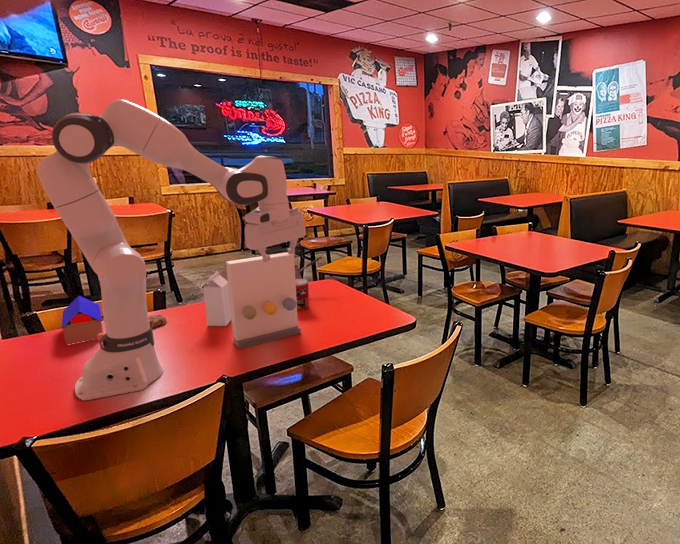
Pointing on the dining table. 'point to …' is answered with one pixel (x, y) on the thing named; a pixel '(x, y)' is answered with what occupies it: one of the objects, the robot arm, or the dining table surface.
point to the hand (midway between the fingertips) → (279, 257)
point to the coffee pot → (297, 275)
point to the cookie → (157, 320)
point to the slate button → (289, 303)
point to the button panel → (262, 298)
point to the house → (81, 321)
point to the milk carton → (217, 301)
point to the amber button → (269, 308)
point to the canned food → (302, 294)
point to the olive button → (249, 312)
